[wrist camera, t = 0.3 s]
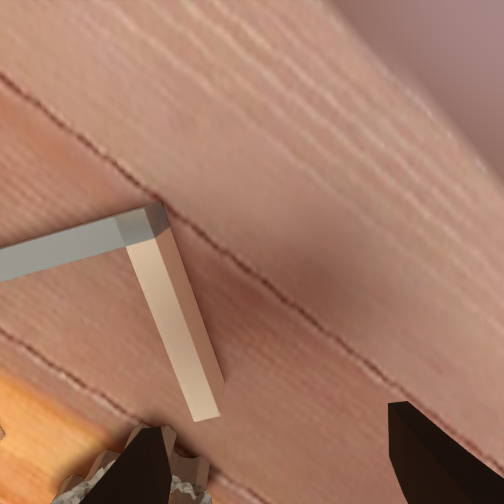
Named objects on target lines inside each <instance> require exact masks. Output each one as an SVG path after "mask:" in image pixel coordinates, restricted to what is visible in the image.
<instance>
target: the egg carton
mask: <svg viewBox="0 0 504 504" xmlns="http://www.w3.org/2000/svg"><path fill="white" fill-rule="evenodd" d="M142 428H151V427H150V426H148V425H146V424H144V423H141V424H139V425H138V426H136V427H135V428H134V429H133V430H132V432H131V434H130V436H129V439H128V441H127V444H126V446H125V448H126V447H127V446H128V444H129V443H130V442H131V441H132V440H133V438H134V437H135V436H136V435H137V434H138V432H139V431H140V430H141V429H142ZM161 430H162V435H163V439H164V443H165V448H166V452H167V456H168V461H169V465H170V469H171V474H172V483H171V490H170V491H172V494H171V496H170V499H169V503H168V504H212V498H211V495H209V494H208V493H207V492H206V487H207V484H208V481H207V478H208V473H209V466H210V463H209V462H208V461H207V460H205V459H204V458H203V457H202V456H198V457H196V458H184V457H181V456H179V455H178V454H177V453H176V452H175V451H174V449H173V446H174V443H175V440H176V437H177V433H176V432H175V431H174V430H173V429H172V428H171V427H169V426H168V425H166V426H163V427H161ZM125 448H124V449H125ZM120 454H121V453H116V452H113V451H111V450H109V449H106V450H104V451H103V452H101V453H100V454H99V455H98V456H97V458H96V460H95V462H94V464H93V466H92V467H91V470H90V472H89V474H88V475H87V477H86V478H82V477H79V476H77V475H75V474H72V475H70V476H69V477H68V478H66V479H65V480H64V482H63V483H62V485H61V487H60V489H59V491H58V493H57V494H56V496H55V498H54V499H53V501H52V503H50V504H79V503H80V501H81V500H82V499H83V498H84V497H85V496H86V495H87V494H88V492H89V491H90V490H91V489H92V488H93V487H94V485H95V484H96V483H97V482H98V481H99V480H100V478H101V477H102V476H103V475H104V474H105V472H106V471H107V470H108V469H109V468H110V466H111V465H112V464H113V463H114V462H115V460H116V459H117V458H118V457H119V456H120Z"/></svg>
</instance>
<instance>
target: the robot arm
mask: <svg viewBox="0 0 504 504" xmlns="http://www.w3.org/2000/svg"><path fill="white" fill-rule="evenodd" d="M388 429H389V457H390V460H391V463H392V466H393V468H394V471H395V474H396V476H397V479H398V481H399V484H400V487H401V489H402V492H403V494H404V496H405V498H406V500H407V502H408V504H504V478H502V477H501V476H500V475H498V474H497V473H496V472H494V471H493V470H491V469H490V468H489V467H487V466H486V465H485V464H483V463H482V462H481V461H480V460H478V459H477V458H476V457H475V456H473V455H472V454H471V453H470V452H468V451H467V450H466V449H464V448H463V447H462V446H461V445H459V444H458V443H457V442H456V441H455V440H453V439H452V438H451V437H450V436H448V435H447V434H446V433H445V432H444V431H442V430H441V429H440V428H439V427H438V426H436V425H435V424H434V423H433V422H432V421H431V420H429V419H428V418H427V417H426V416H425V415H424V414H422V413H421V412H420V411H419V410H418V409H416V408H415V407H414V406H413V405H412V404H411V403H409V402H408V401H404V402H395V403H388ZM171 483H172V474H171V469H170V465H169V461H168V456H167V452H166V448H165V443H164V439H163V435H162V430H161V426H160V427H151V428H142V429H141V430H140V431H139V432H138V434H137V435H136V436H135V437H134V438H133V440H132V441H131V442H130V443H129V444H128V446H127V447H126V448H125V449H124V451H123V452H122V453H121V454H120V456H119V457H118V458H117V459H116V460H115V462H114V463H113V464H112V465H111V466H110V468H109V469H108V470H107V471H106V472H105V474H104V475H103V476H102V477H101V478H100V480H99V481H98V482H97V483H96V484H95V485H94V487H93V488H92V489H91V490H90V491H89V492H88V494H87V495H86V496H85V497H84V498H83V499H82V500H81V501H80V503H79V504H168V502H169V496H170V490H171Z"/></svg>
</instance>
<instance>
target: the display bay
mask: <svg viewBox="0 0 504 504" xmlns="http://www.w3.org/2000/svg"><path fill="white" fill-rule="evenodd" d="M122 247H126V249H127V252H128V254H129V257H130V259H131V262H132V264H133V267H134V270H135V272H136V275H137V277H138V280H139V282H140V285H141V287H142V290H143V292H144V295H145V298H146V300H147V303H148V305H149V308H150V310H151V313H152V315H153V318H154V320H155V323H156V326H157V328H158V331H159V333H160V336H161V338H162V341H163V343H164V346H165V348H166V351H167V353H168V356H169V359H170V361H171V364H172V366H173V369H174V371H175V374H176V376H177V379H178V381H179V384H180V387H181V389H182V392H183V394H184V397H185V399H186V402H187V404H188V407H189V409H190V412H191V414H192V417H193V420H194V422H197V421H201V420H205V419H210V418H214V417H218V416H220V413H221V405H222V397H223V389H224V379H223V376H222V373H221V370H220V367H219V365H218V362H217V359H216V356H215V353H214V350H213V348H212V345H211V342H210V339H209V336H208V333H207V330H206V328H205V325H204V322H203V319H202V316H201V313H200V311H199V308H198V305H197V302H196V299H195V296H194V294H193V291H192V288H191V285H190V282H189V279H188V277H187V274H186V271H185V268H184V265H183V262H182V259H181V257H180V254H179V251H178V248H177V245H176V242H175V240H174V237H173V234H172V231H171V228H170V225H169V223H168V220H167V217H166V214H165V211H164V208H163V205H162V203H161V201H159V202H156V203H152V204H149V205H145V206H142V207H139V208H135V209H132V210H128V211H125V212H121V213H118V214H114V215H111V216H108V217H104V218H101V219H97V220H94V221H90V222H87V223H84V224H80V225H77V226H73V227H70V228H66V229H63V230H59V231H56V232H53V233H49V234H46V235H42V236H39V237H35V238H32V239H29V240H25V241H22V242H18V243H15V244H11V245H8V246H4V247H1V248H0V282H2V281H6V280H9V279H13V278H16V277H20V276H23V275H27V274H30V273H34V272H37V271H41V270H44V269H48V268H52V267H55V266H59V265H62V264H66V263H69V262H73V261H76V260H80V259H83V258H87V257H90V256H94V255H97V254H101V253H105V252H108V251H112V250H115V249H119V248H122ZM4 436H5V434H4V433H3V431H2V429H1V427H0V441H1V440H2V439H3V438H4Z"/></svg>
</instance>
